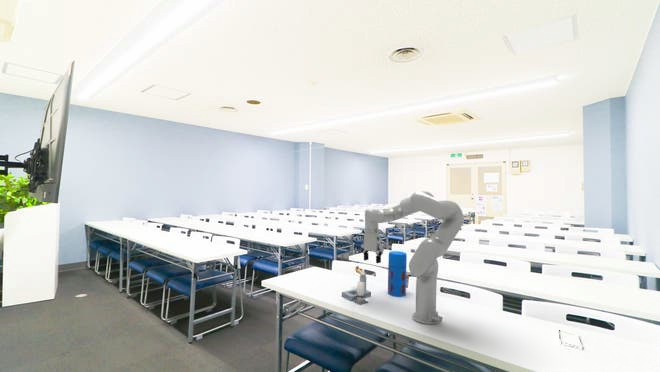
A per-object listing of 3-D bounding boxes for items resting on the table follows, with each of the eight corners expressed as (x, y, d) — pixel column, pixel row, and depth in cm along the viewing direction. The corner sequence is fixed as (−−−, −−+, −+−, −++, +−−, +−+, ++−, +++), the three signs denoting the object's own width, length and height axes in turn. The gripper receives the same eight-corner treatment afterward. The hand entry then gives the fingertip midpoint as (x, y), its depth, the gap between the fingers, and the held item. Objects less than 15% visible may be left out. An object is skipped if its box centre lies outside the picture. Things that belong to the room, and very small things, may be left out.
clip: (366, 276, 174) (366, 272, 174) (361, 276, 173) (361, 272, 174) (359, 270, 188) (359, 266, 188) (354, 270, 188) (354, 266, 188)
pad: (368, 302, 163) (368, 301, 163) (360, 304, 159) (360, 303, 159) (360, 299, 167) (360, 298, 168) (352, 301, 164) (352, 300, 164)
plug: (366, 301, 162) (366, 283, 163) (359, 303, 160) (359, 284, 160) (361, 298, 167) (361, 281, 167) (354, 300, 164) (354, 282, 164)
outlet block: (370, 296, 173) (371, 277, 173) (351, 301, 164) (352, 281, 164) (360, 291, 180) (361, 274, 180) (341, 296, 171) (342, 277, 172)
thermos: (404, 291, 183) (405, 251, 184) (407, 297, 172) (408, 255, 173) (386, 290, 184) (387, 250, 185) (388, 296, 173) (389, 254, 174)
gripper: (387, 231, 161) (388, 263, 160) (365, 229, 175) (366, 258, 174) (378, 232, 156) (378, 265, 155) (356, 230, 170) (356, 259, 169)
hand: (372, 261), depth 165 cm, fingers open, 9 cm apart
